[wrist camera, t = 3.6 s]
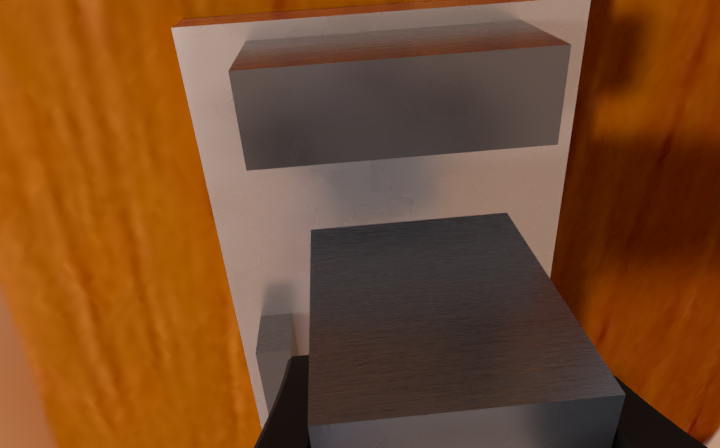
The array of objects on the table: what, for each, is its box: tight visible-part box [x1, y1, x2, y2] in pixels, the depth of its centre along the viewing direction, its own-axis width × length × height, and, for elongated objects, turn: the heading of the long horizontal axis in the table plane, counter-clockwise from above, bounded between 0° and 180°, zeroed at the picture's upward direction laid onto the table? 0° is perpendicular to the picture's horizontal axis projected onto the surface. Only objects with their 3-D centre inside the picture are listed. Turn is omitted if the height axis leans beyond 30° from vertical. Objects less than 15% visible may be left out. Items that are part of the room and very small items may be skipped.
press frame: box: [171, 0, 591, 430], centre depth 19 cm, size 20×12×5 cm, turn 3°
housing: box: [308, 213, 626, 448], centre depth 12 cm, size 6×5×6 cm
